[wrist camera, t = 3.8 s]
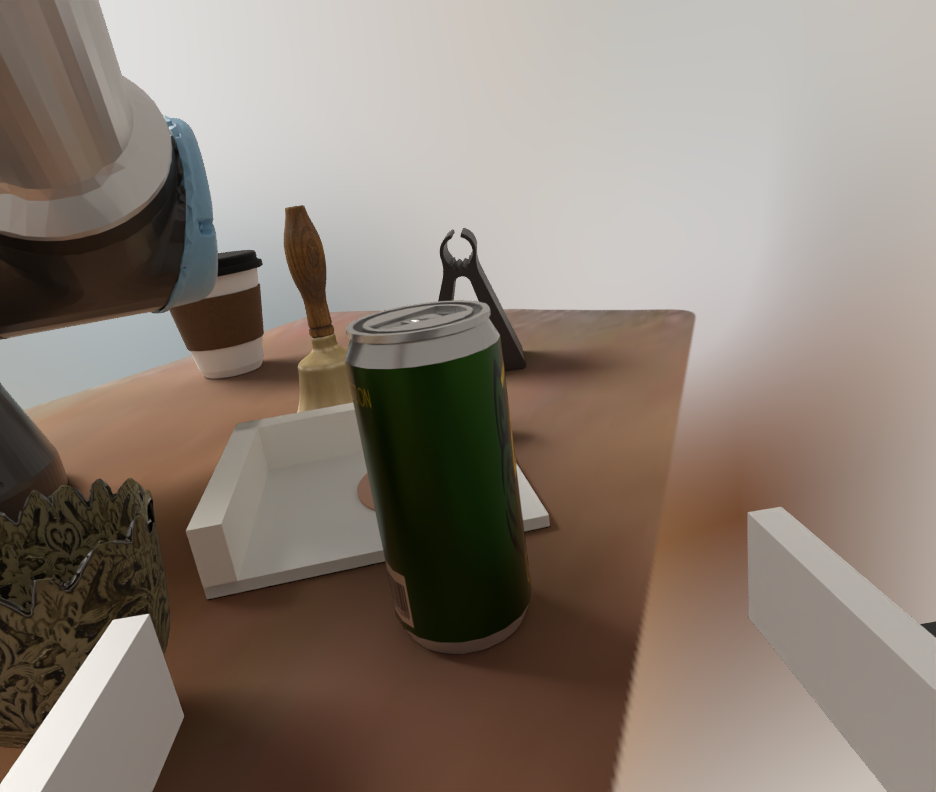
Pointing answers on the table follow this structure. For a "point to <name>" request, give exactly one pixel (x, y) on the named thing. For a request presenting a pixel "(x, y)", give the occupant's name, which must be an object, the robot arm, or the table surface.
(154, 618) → the cup
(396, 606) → the beer can
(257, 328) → the coffee cup
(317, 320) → the hand bell
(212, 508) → the tray
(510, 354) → the phone stand
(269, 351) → the table surface
